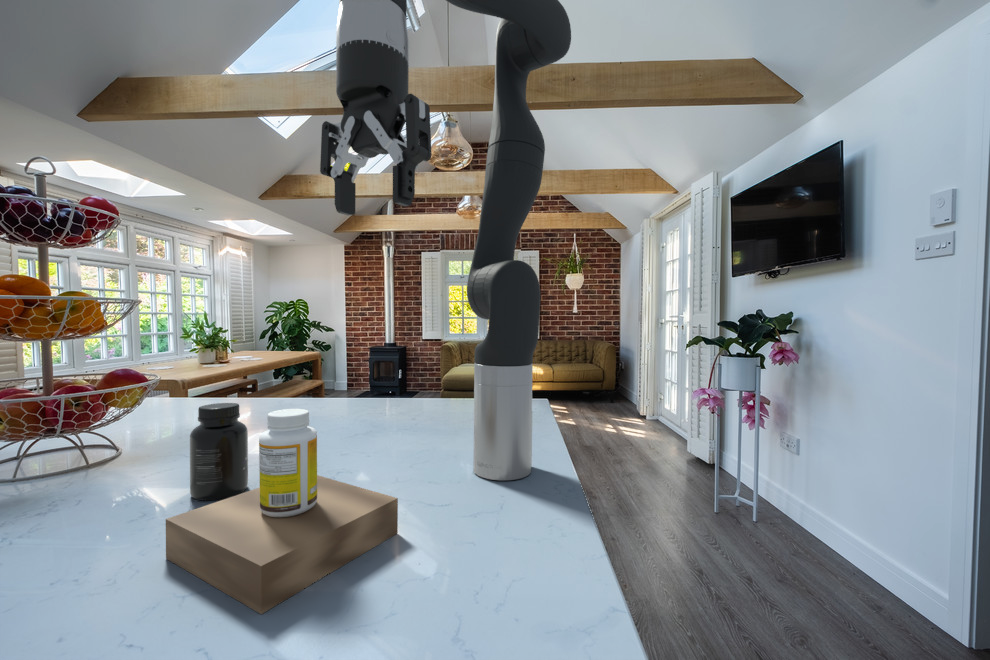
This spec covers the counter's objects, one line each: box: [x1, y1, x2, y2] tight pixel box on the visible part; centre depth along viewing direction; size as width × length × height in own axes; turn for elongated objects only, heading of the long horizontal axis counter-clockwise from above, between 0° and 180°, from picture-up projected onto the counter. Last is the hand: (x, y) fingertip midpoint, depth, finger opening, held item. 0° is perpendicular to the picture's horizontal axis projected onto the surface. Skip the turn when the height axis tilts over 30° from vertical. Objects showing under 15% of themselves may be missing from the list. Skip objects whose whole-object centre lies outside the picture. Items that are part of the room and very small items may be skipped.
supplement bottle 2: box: [258, 408, 318, 517], centre depth 47 cm, size 6×6×10 cm
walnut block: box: [165, 474, 399, 615], centre depth 47 cm, size 16×16×4 cm
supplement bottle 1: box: [189, 402, 249, 501], centre depth 61 cm, size 7×7×12 cm
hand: (372, 209), depth 48 cm, fingers open, 8 cm apart
